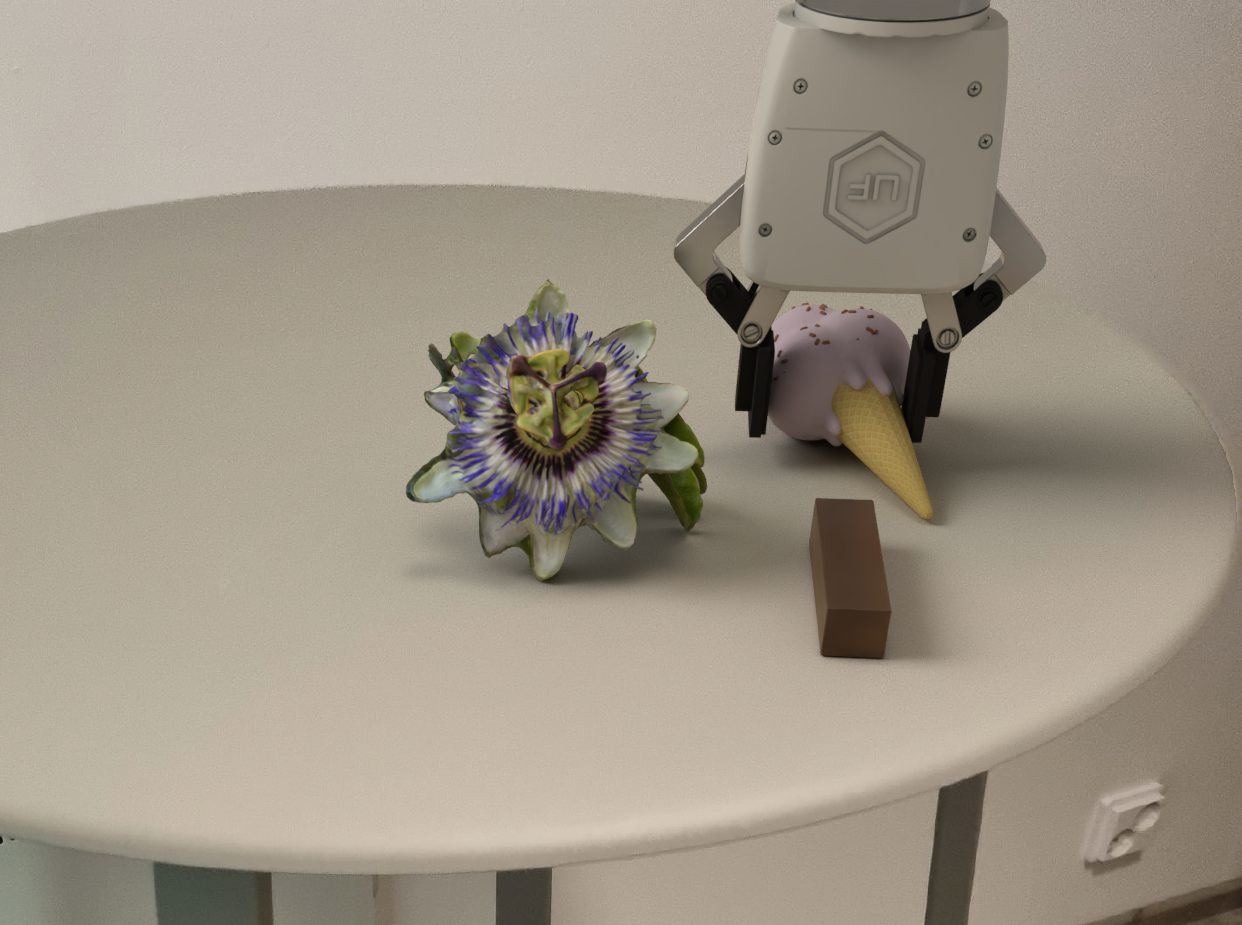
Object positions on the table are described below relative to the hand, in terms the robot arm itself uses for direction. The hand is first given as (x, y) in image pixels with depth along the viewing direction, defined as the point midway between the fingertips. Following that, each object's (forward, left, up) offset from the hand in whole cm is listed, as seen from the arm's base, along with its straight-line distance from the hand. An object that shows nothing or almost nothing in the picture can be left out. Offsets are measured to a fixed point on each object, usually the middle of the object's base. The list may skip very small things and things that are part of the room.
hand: (833, 425), depth 86 cm
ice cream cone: (-1, 0, -2) cm, 2 cm away
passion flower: (+12, +9, -2) cm, 15 cm away
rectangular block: (0, +14, -2) cm, 14 cm away
